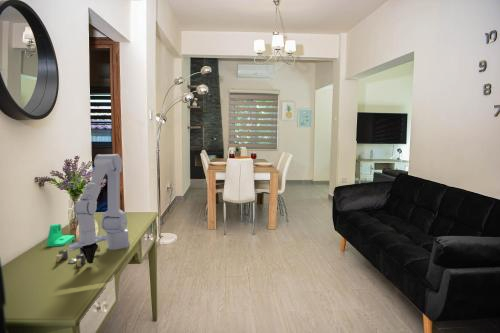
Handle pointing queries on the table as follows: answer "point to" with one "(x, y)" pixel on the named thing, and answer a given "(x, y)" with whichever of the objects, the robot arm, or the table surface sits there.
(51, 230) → the camera mount
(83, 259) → the knob
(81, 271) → the table surface
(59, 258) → the knob
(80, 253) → the knob
